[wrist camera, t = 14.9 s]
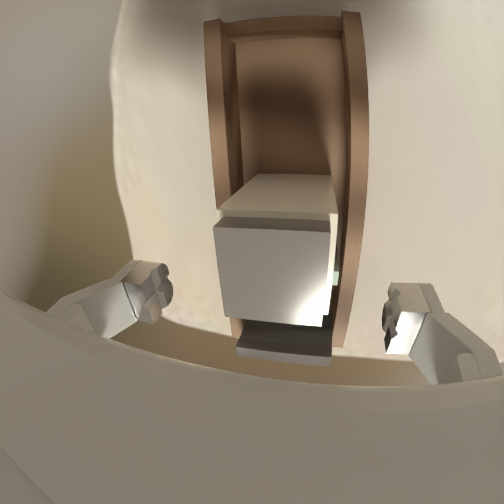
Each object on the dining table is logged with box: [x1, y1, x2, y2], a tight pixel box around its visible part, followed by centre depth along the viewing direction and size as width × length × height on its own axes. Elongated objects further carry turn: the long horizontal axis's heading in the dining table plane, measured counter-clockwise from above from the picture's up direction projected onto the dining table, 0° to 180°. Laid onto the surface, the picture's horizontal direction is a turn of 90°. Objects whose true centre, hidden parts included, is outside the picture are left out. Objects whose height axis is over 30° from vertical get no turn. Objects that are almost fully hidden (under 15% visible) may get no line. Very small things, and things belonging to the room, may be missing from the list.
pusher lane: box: [204, 11, 369, 366], centre depth 16 cm, size 23×9×6 cm, turn 3°
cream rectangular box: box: [213, 174, 338, 326], centre depth 15 cm, size 5×5×9 cm
